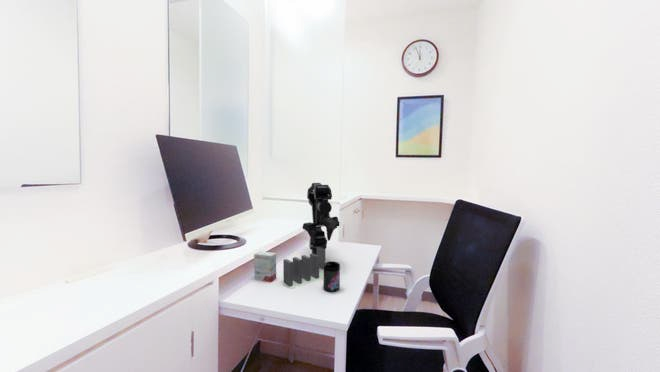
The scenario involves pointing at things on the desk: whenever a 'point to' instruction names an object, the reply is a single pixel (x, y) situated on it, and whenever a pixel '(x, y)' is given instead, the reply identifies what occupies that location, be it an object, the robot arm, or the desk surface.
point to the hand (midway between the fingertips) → (321, 242)
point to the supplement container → (331, 276)
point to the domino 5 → (321, 256)
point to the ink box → (265, 266)
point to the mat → (307, 281)
